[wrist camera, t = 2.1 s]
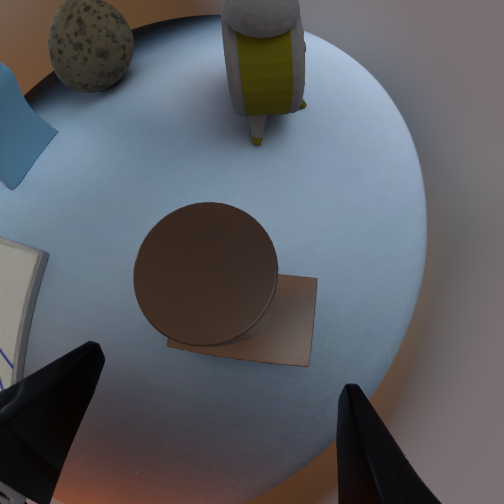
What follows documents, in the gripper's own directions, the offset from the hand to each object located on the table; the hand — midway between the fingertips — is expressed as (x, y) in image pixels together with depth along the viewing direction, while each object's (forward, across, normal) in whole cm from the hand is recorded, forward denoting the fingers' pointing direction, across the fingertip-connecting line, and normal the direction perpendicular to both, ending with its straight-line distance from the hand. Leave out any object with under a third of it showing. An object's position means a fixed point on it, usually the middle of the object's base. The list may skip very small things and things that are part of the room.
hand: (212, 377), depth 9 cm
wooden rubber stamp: (+10, 0, +6) cm, 11 cm away
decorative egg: (+29, +23, -13) cm, 39 cm away
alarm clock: (+24, 0, -8) cm, 25 cm away
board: (+5, +27, +10) cm, 29 cm away
